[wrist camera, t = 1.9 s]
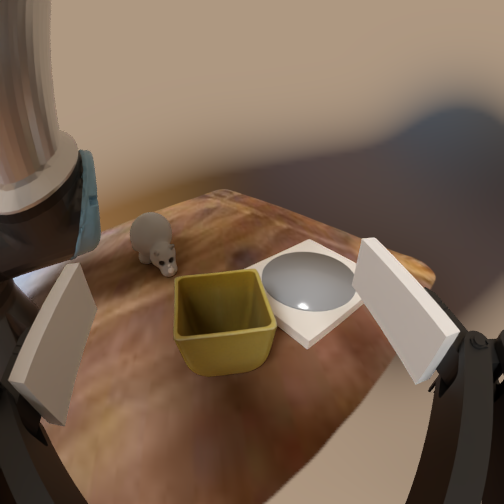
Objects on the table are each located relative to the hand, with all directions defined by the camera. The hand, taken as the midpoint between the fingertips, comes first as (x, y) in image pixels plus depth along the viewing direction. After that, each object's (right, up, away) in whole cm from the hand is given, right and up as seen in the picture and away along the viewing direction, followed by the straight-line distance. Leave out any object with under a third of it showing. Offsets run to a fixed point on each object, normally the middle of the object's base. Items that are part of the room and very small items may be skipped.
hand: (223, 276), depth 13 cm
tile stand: (+10, -4, +29) cm, 31 cm away
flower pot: (-2, -11, +18) cm, 21 cm away
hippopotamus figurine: (-15, -1, +34) cm, 37 cm away
